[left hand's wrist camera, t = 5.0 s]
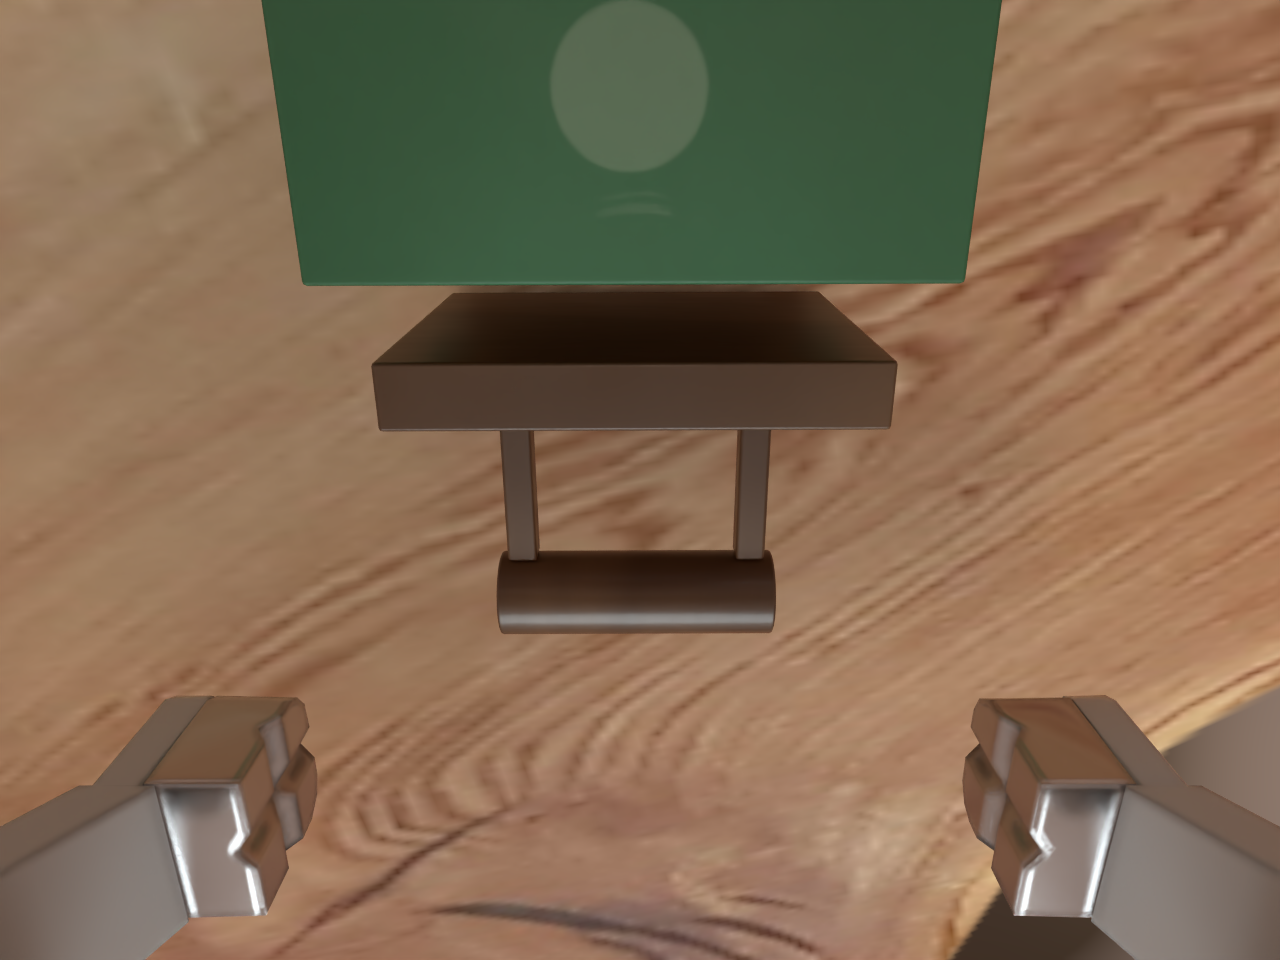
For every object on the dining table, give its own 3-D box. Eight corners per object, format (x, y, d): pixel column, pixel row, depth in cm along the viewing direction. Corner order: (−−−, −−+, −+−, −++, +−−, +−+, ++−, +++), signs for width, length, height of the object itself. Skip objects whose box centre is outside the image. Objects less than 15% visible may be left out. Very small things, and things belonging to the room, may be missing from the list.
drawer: (801, 538, 23) (863, 691, 17) (472, 539, 23) (409, 693, 17) (879, -535, 15) (1047, -1001, 9) (383, -533, 15) (206, -996, 9)
